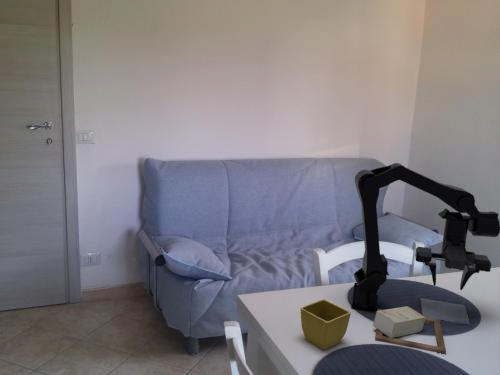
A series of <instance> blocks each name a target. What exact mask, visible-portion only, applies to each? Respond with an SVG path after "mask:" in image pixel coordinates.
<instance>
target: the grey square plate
mask: <svg viewBox="0 0 500 375" xmlns="http://www.w3.org/2000/svg"><path fill="white" fill-rule="evenodd" d="M420 306H421V315H422V316H424V317H428V318H434V319H439V320H444V321H443V322H445V321H451V322H455V321H456V320H457V319H458V321H459V320H460V321H461V322H463V321H464V320H466V322H468V321H470V318H469V316H468V312H467V309H466V306H465V304H460V303H453V302H446V301H442V300H436V299H435V300H433V299H428V298H423V297H421V298H420ZM451 322H450V323H451Z"/></svg>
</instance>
